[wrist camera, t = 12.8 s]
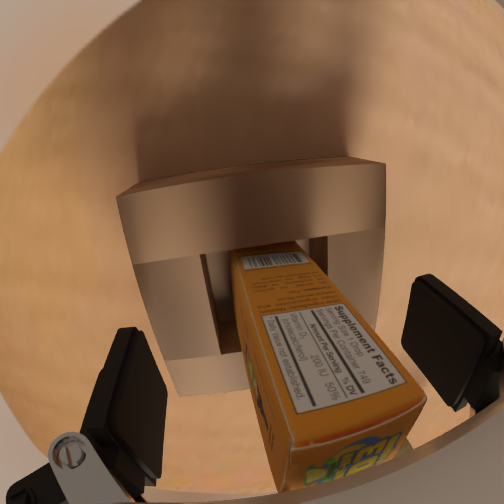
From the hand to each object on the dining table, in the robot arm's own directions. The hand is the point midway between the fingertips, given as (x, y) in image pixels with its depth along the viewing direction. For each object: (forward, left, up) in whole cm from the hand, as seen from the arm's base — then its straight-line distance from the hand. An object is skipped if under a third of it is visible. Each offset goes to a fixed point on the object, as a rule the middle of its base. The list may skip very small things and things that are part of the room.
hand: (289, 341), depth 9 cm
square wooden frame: (0, 0, -7) cm, 7 cm away
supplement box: (0, 0, -5) cm, 5 cm away
